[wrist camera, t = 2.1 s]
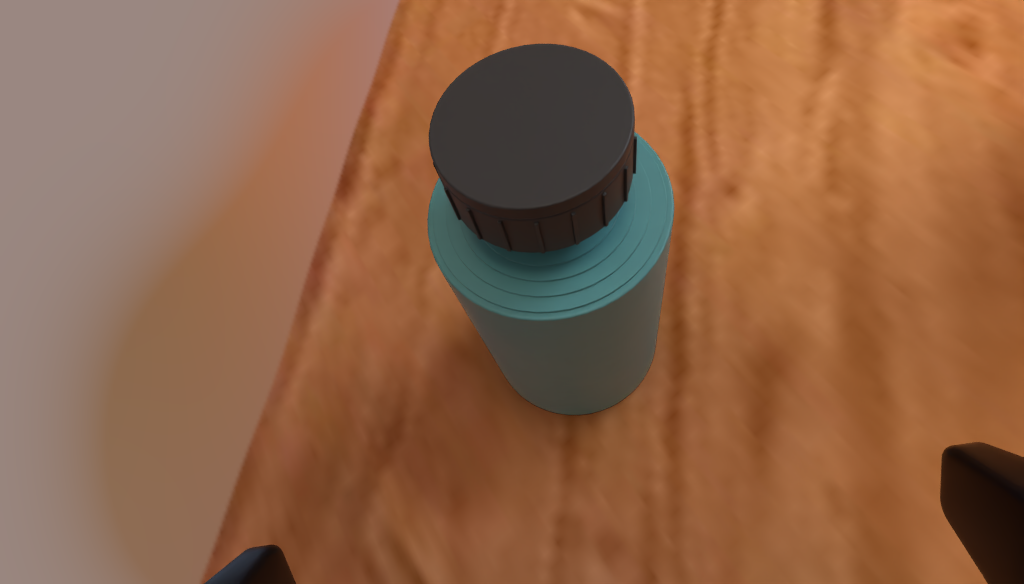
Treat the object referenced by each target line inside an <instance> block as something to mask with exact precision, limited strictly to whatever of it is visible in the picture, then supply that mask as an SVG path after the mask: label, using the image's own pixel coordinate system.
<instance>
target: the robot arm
mask: <svg viewBox="0 0 1024 584" xmlns="http://www.w3.org/2000/svg"><path fill="white" fill-rule="evenodd" d="M940 501H941V506H942V509H943V512H944V514H945V517H946V518H947V520H948V522H949V523H950V525H951V526H952V528H953V530H954V531H955V533H956V534H957V536H958V537H959V539H960V541H961V542H962V544H963V545H964V547H965V548H966V550H967V552H968V553H969V555H970V556H971V558H972V559H973V561H974V562H975V564H976V566H977V567H978V569H979V570H980V572H981V573H982V575H983V577H984V578H985V580H986V581H987V583H988V584H1024V457H1021V456H1018V455H1016V454H1013V453H1010V452H1007V451H1005V450H1002V449H999V448H996V447H994V446H991V445H988V444H985V443H981V442H974V443H967V444H960V445H953V446H949V447H947V448H946V449H945V450H944V452H943V454H942V463H941V489H940ZM204 584H296V582H295V580H294V578H293V575H292V573H291V570H290V568H289V566H288V563H287V561H286V558H285V556H284V554H283V552H282V550H281V549H280V548H279V547H278V546H277V545H266V546H259V547H253V548H249V549H247V550H245V551H244V552H243V553H242V554H240V555H239V556H238V557H237V558H235V559H234V560H233V561H232V562H230V563H229V564H228V565H227V566H225V567H224V568H223V569H222V570H221V571H219V572H218V573H217V574H216V575H214V576H213V577H212V578H211V579H209V580H208V581H207V582H206V583H204Z"/></svg>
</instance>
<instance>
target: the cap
mask: <svg viewBox="0 0 1024 584" xmlns="http://www.w3.org/2000/svg"><path fill="white" fill-rule="evenodd" d="M634 128H635V115H634V106H633V101H632V97H631V95H630V92H629V90H628V88H627V86H626V84H625V83H624V81H623V80H622V78H621V77H620V76H619V75H618V73H617V72H616V71H615V70H614V69H613V68H612V67H611V66H609V65H608V64H607V63H606V62H605V61H603V60H601V59H600V58H598V57H597V56H595V55H593V54H590V53H588V52H586V51H583V50H580V49H577V48H574V47H569V46H565V45H557V44H531V45H523V46H518V47H513V48H510V49H507V50H503V51H500V52H498V53H495V54H493V55H490V56H488V57H486V58H484V59H482V60H481V61H479V62H477V63H475V64H474V65H472V66H471V67H469V68H468V69H467V70H465V71H464V72H463V73H462V74H461V75H459V76H458V77H457V78H456V79H455V80H454V81H453V82H452V83H451V84H450V86H449V87H448V88H447V89H446V91H445V92H444V93H443V95H442V97H441V98H440V100H439V102H438V103H437V106H436V108H435V110H434V112H433V116H432V119H431V123H430V130H429V147H430V152H431V156H432V159H433V165H434V167H435V169H436V171H437V173H438V175H439V178H440V180H441V182H442V184H443V186H444V191H445V193H446V195H447V197H448V199H449V201H450V204H451V206H452V208H453V210H454V212H455V214H456V216H457V218H458V220H462V221H463V222H464V224H465V225H466V226H467V227H468V228H469V229H470V230H471V231H472V232H473V233H474V234H476V235H477V237H478V239H479V240H481V239H483V240H485V241H487V242H489V243H491V244H493V245H495V246H498V247H501V248H504V249H507V251H509V252H511V251H516V252H526V253H540V252H541V253H542V254H543V253H545V252H549V251H555V250H559V249H563V248H567V247H570V246H572V245H575V244H576V245H578V244H580V242H582V241H583V240H585V239H587V238H589V237H591V236H592V235H594V234H595V233H597V232H598V231H599V230H601V229H602V228H603V227H604V226H605V227H607V226H608V225H609V222H610V221H611V220H612V218H613V217H614V216H615V215H616V214H617V212H618V211H619V210H620V208H621V207H622V205H623V203H624V202H627V201H628V193H629V191H630V187H631V183H632V179H633V174H636V160H637V136H634Z"/></svg>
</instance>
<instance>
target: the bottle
mask: <svg viewBox="0 0 1024 584" xmlns="http://www.w3.org/2000/svg"><path fill="white" fill-rule="evenodd" d="M634 136H637V160H636V174H633V179H632V183H631V187H630V191H629V193H628V201H627V202H624V203H623V205H622V207H621V208H620V210H619V211H618V212H617V214H616V215H615V216H614V217H613V218H612V220H611V221H610V222H609V225H608V226H607V227H605V226H604V227H603V228H602V229H601V230H599V231H598V232H597V233H595V234H594V235H592V236H591V237H589V238H587V239H585V240H583V241H582V242H580V244H578V245H576V244H575V245H572V246H570V247H567V248H563V249H559V250H555V251H549V252H545V253H543V254H542V253H541V252H540V253H526V252H516V251H511V252H509V251H507V249H504V248H501V247H498V246H495V245H493V244H491V243H489V242H487V241H485V240H483V239H481V240H479V239H478V237H477V235H476V234H474V233H473V232H472V231H471V230H470V229H469V228H468V227H467V226H466V225H465V224H464V222H463V221H462V220H458V218H457V216H456V214H455V212H454V210H453V208H452V206H451V204H450V201H449V199H448V197H447V195H446V193H445V191H444V186H443V184H442V182H441V180H440V178H439V179H438V181H437V183H436V186H435V188H434V191H433V193H432V197H431V201H430V205H429V212H428V236H429V241H430V247H431V250H432V252H433V255H434V258H435V261H436V262H437V264H438V266H439V268H440V270H441V272H442V273H443V275H444V277H445V278H446V280H447V282H448V283H449V285H450V287H451V288H452V290H453V292H454V293H455V295H456V296H457V298H458V300H459V301H460V303H461V305H462V306H463V308H464V310H465V311H466V313H467V315H468V316H469V318H470V320H471V321H472V323H473V325H474V326H475V328H476V330H477V331H478V333H479V334H480V336H481V338H482V339H483V341H484V343H485V344H486V346H487V348H488V349H489V351H490V353H491V354H492V356H493V358H494V359H495V361H496V363H497V364H498V366H499V367H500V369H501V371H502V372H503V374H504V376H505V377H506V379H507V380H508V382H509V383H510V384H511V386H512V387H513V388H514V389H515V390H516V391H517V392H518V393H519V394H520V395H521V396H522V397H523V398H525V399H526V400H527V401H529V402H530V403H532V404H534V405H536V406H537V407H540V408H542V409H545V410H547V411H551V412H554V413H559V414H566V415H582V414H590V413H594V412H598V411H602V410H604V409H607V408H609V407H611V406H613V405H615V404H617V403H618V402H620V401H622V400H623V399H624V398H626V397H627V396H628V395H630V394H631V393H632V392H633V391H634V390H635V389H636V388H637V387H638V385H639V384H640V383H641V381H642V380H643V379H644V377H645V375H646V374H647V372H648V370H649V368H650V365H651V363H652V360H653V356H654V352H655V346H656V339H657V332H658V325H659V318H660V311H661V304H662V297H663V290H664V283H665V275H666V268H667V261H668V254H669V247H670V240H671V233H672V226H673V216H674V198H673V190H672V186H671V182H670V179H669V176H668V174H667V171H666V169H665V167H664V165H663V163H662V162H661V160H660V158H659V157H658V155H657V154H656V152H655V151H654V150H653V149H652V148H651V147H650V145H649V144H648V143H647V142H646V141H645V140H644V139H643V138H641V137H640V136H639V135H638V134H637V133H635V132H634Z"/></svg>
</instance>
